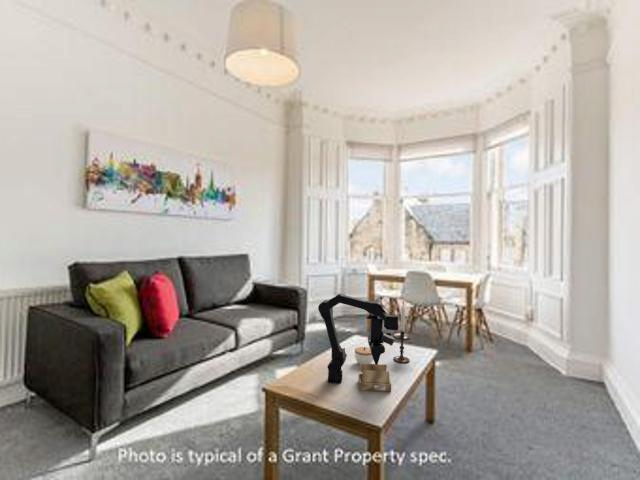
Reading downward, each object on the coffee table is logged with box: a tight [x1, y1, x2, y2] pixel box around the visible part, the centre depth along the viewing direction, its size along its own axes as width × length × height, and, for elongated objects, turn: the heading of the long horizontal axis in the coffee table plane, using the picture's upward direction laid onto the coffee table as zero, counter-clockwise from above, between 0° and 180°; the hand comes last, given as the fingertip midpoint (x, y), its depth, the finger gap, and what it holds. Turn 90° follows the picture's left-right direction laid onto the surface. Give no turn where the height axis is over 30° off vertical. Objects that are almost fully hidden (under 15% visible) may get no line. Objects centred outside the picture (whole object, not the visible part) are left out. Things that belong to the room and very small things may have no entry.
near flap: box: [361, 370, 390, 383], centre depth 162 cm, size 12×5×1 cm
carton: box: [357, 372, 392, 393], centre depth 167 cm, size 15×11×4 cm
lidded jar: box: [354, 346, 374, 366], centre depth 195 cm, size 11×11×9 cm
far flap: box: [360, 363, 388, 373], centre depth 171 cm, size 12×5×1 cm
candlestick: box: [392, 300, 413, 364], centre depth 201 cm, size 11×11×35 cm
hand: (375, 361), depth 167 cm, fingers open, 8 cm apart
